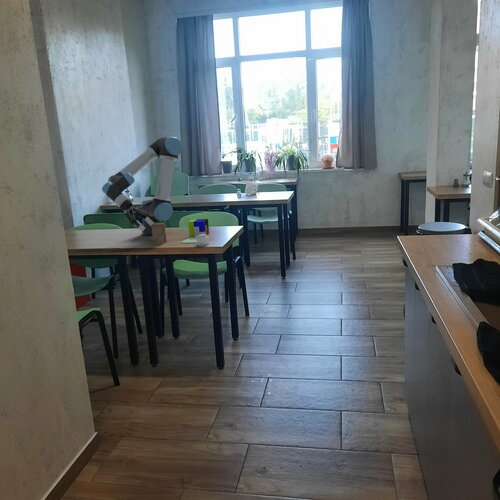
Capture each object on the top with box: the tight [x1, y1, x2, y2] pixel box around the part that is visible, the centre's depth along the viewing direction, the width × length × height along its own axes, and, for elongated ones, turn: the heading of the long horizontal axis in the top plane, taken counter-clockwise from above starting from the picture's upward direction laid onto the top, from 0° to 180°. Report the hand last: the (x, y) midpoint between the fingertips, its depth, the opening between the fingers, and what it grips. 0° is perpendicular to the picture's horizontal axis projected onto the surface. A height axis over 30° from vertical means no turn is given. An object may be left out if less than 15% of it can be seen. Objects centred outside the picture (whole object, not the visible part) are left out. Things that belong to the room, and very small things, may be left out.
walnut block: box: [151, 222, 167, 245], centre depth 281 cm, size 6×6×12 cm
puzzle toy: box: [187, 218, 210, 237], centre depth 299 cm, size 10×10×10 cm
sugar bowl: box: [196, 234, 210, 247], centre depth 271 cm, size 7×7×6 cm
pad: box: [180, 236, 211, 244], centre depth 284 cm, size 14×14×1 cm
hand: (148, 227), depth 280 cm, fingers open, 13 cm apart
